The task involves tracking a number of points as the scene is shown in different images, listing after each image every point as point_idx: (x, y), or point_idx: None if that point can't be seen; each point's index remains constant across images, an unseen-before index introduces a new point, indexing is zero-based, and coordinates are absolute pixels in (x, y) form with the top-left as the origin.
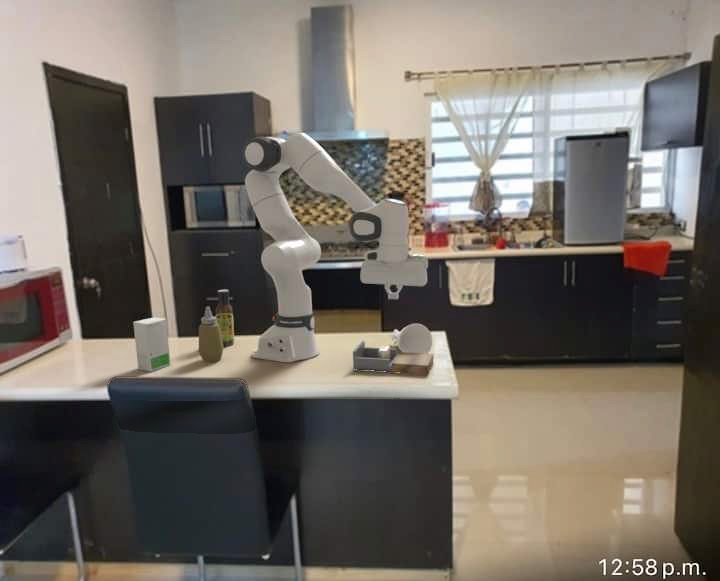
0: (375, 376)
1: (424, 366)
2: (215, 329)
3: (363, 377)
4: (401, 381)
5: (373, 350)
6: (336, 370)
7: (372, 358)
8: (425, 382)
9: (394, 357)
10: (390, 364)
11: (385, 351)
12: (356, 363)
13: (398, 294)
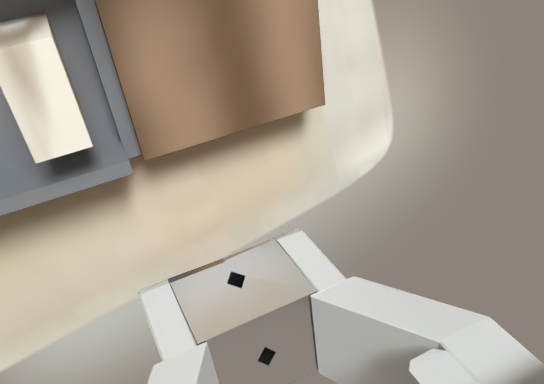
0: (85, 215)
1: (305, 106)
2: None
3: (38, 253)
4: (222, 204)
5: None
6: None
7: (26, 200)
8: (311, 167)
9: (80, 13)
10: (125, 140)
11: (85, 145)
12: None
13: (329, 270)
